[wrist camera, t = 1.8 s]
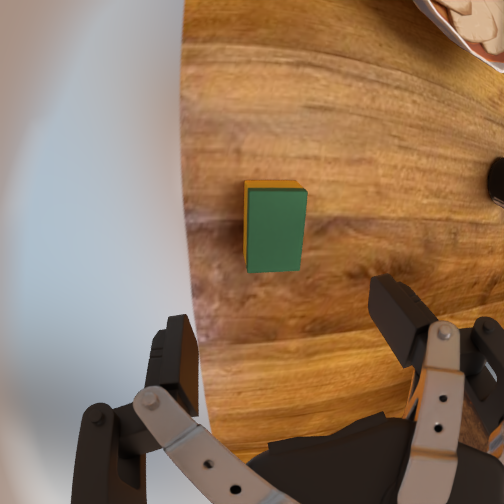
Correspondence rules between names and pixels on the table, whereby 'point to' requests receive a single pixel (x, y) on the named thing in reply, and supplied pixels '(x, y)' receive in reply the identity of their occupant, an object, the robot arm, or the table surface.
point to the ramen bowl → (471, 26)
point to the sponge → (273, 225)
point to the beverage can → (497, 183)
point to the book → (472, 427)
